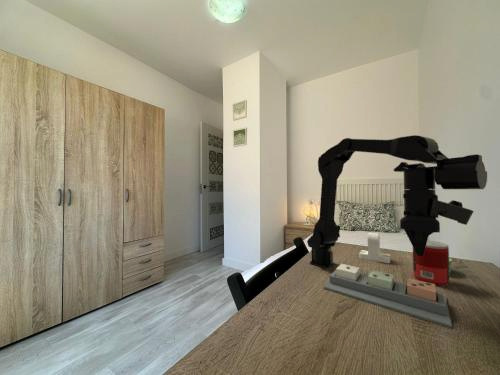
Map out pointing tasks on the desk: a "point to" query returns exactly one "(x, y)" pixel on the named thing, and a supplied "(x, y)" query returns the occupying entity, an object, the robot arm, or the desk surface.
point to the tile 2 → (381, 280)
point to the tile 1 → (348, 272)
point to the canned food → (432, 264)
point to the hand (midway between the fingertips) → (420, 255)
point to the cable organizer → (374, 250)
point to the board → (393, 298)
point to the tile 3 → (421, 289)
